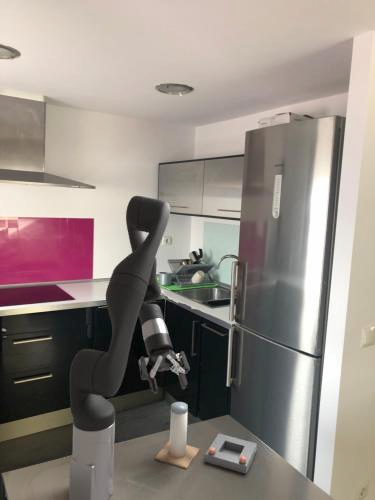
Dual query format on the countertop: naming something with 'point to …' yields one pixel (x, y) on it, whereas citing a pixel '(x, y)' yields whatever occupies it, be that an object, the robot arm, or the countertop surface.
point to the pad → (179, 462)
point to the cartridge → (178, 429)
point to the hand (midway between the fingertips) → (170, 390)
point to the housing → (231, 453)
